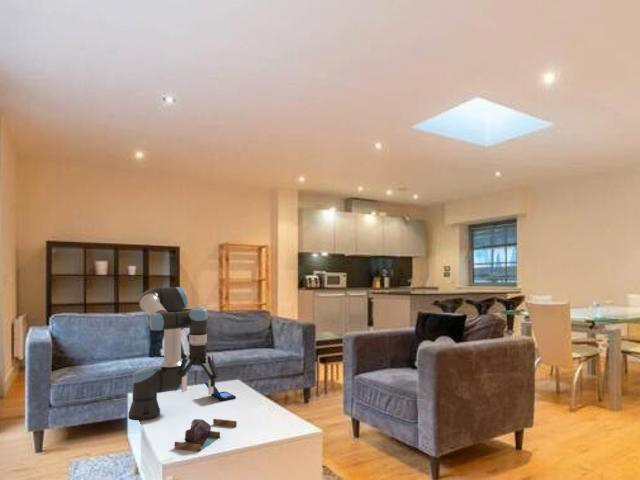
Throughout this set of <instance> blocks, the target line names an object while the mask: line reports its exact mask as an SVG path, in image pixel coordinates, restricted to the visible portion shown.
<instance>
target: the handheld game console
mask: <svg viewBox="0 0 640 480" xmlns="http://www.w3.org/2000/svg"><path fill="white" fill-rule="evenodd" d="M204 384H205V385H206V388H207V390H209V382H207V381H204ZM210 396H211V397H212V398H214V399H215V398H216V399H217V400H219V401H220V402H224V401H226V402H227V401H231V400H235V399H236V398H237V396H236V395H234V394H232V393H230V392H228V391H219V390H218V388H217V387H216V386H213V394H211V395H210Z"/></svg>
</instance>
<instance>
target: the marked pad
mask: <svg viewBox="0 0 640 480" xmlns="http://www.w3.org/2000/svg"><path fill="white" fill-rule="evenodd" d="M217 440H219V438H211V437H208V438H207V439H206V441H205V442H204V444H203V445H202V446H201V451H202V450H204V449H205V448H207V447H208V446H210V445H211V444H213V443H214V442H215V441H217ZM183 442H184V443H191V442H186V441H185V440H184V441H183Z"/></svg>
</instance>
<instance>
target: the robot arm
mask: <svg viewBox="0 0 640 480" xmlns="http://www.w3.org/2000/svg"><path fill="white" fill-rule="evenodd" d="M188 300H189V298H188V295H187V292H186V289H184V287H182V286H181V287H180V286H179V287H178V286H171V287H170V286H169V287H152V288H149V289H147V290H146V291H144V292H143V293H142V294H141V295H140V297H139V299H138V304H139V308H141V310H142V311H143V312H145V313H147V315H148V316H149V319H148V320H149V321H148V325H149V329H150V330H151V331H163V335H164V336H163V339H164V340H163V362H162V364H161V365H160V369H158V367H157V366H151V367H150V366H149V367H148V366H147V367H144V368H141V369H138V370H136V371H134V373H133V374H132V381H131V383H132V401H131V404H130V408H129V411H128V415H127V416H128V419H129V420H131V421H146V420H152V419H155V418H157V417H159V416H160V415H161V408H160V405H159V402H158V394H161V393H166V392H168V393H169V392H177V391H179V390H181V393H184V392H187V391H188V389H187V387H188V378H189V377H188V375H189V371H190V370H191V368H192V367H193V366H197V367H201V368H203V370H204V371H205V373H206V375H208V378H209V379H208V383H209V389H207V390H208V392H207V393H208V396H211V394H213V386H215V385H216V379H217V378H219V377H220V373H219V372H218V369H217V366H216V364H215V362H214V356H213V355H212V354H211V355H207V351H208V347H207V346H208V345H207V343H208V332H207V331H208V311H207V310H208V309H206V308H203V307H202V308H201V307H197V308H191V309H190V310H186V311H185V309H187V308H188V304H189V303H188ZM182 329H189V337H188V338H189V340H188V343H189V345H188V353H185V354H183V355H182ZM188 360H189V362H188ZM215 387H216V386H215Z"/></svg>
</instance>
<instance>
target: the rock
mask: <svg viewBox="0 0 640 480" xmlns="http://www.w3.org/2000/svg"><path fill="white" fill-rule="evenodd" d="M190 424H191V425H190V428H189V429H186V430H185V432H184V433H185V435H184V439H183V440H184V442H185V441H186V442H191V443H192V444H200V445H201V446H202V445H203V444H204V442H205V441H206V439H207V438H208V436H209V434H210V431H212V430H211V429H212V427H211V424H210V423H208V422H207V421H206V420H204V419H200V418H197V419H193V420H192V421H191V423H190Z"/></svg>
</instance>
